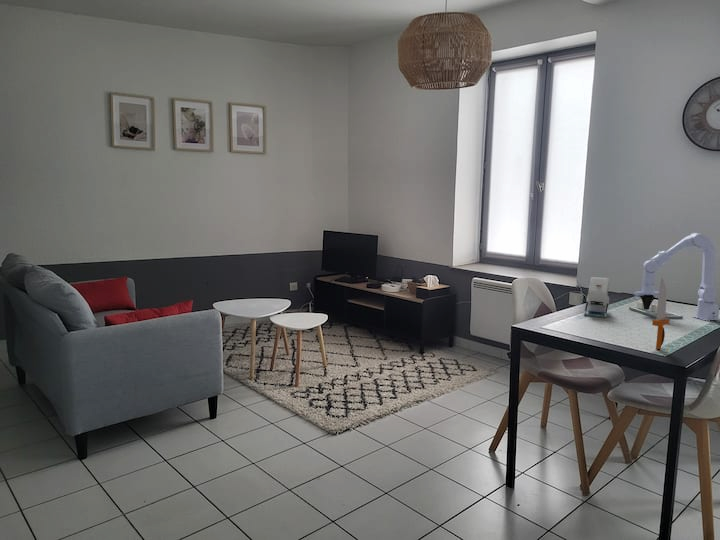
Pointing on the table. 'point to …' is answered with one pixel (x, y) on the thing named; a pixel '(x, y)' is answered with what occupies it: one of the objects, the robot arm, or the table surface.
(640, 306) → the breaker
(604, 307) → the robotic device
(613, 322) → the table surface
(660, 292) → the knife
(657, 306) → the breaker
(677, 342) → the table surface
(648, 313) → the panel
